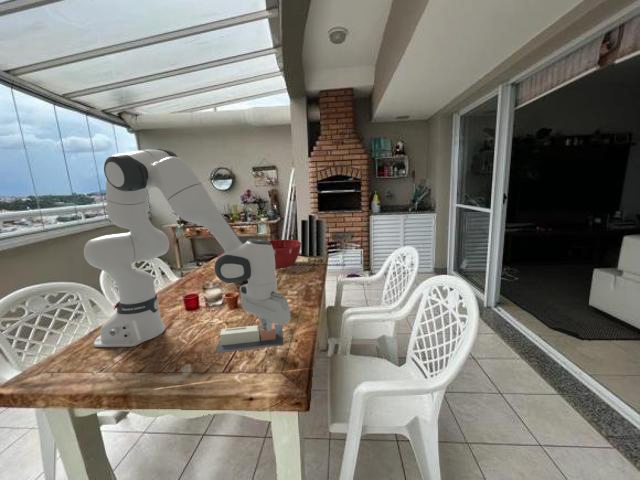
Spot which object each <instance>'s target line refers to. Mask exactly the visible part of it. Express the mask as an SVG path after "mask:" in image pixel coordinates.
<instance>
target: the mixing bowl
mask: <svg viewBox="0 0 640 480" xmlns="http://www.w3.org/2000/svg"><path fill="white" fill-rule="evenodd" d="M268 241H269V242H270V243H271V245H272V247H273V250H274V256H275V270H276V269H277V270H281V269H280V268H283V269H287V267H288V268H290V267H291V266H293V265H294V264H295V263H296V261H297V259H298V256H299V254H300V251H301V250H300V249H301V245H302V242H301V241H300V240H294V239H275V240H268Z"/></svg>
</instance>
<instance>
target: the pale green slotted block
mask: <svg viewBox="0 0 640 480" xmlns="http://www.w3.org/2000/svg"><path fill="white" fill-rule="evenodd" d="M260 327H261V325H260V324H257V325H248V326H247V325H246V326H240V327H230V328H221V331H220V334H219V338H220V339H219V341H220V340H221V341H220V342H221V344H220V345H228V346H229V345H230V344H235V345H236V344H238V345H239V343H247V342H252V343H253V342H256V341H259V342H260V337H261V336H260Z"/></svg>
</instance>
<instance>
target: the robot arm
mask: <svg viewBox="0 0 640 480" xmlns="http://www.w3.org/2000/svg"><path fill="white" fill-rule="evenodd" d="M103 173H104V175H105V178H106V183H105V196H106V197H105V198H106V199H105V200H106V208H107V209H106V210H107V218H108V220H109V221H110V222H111V223H112V224H113V225H115V226H117V227H119V228H123V229H126V230H129V231H127V232H122V233H113V234H106V235H102V236H98V237H95V238H92V239H89V240H88V241H87V242H86V243H85V245H84V248H83V257H84V259H85V261H86V262H87V263H88V265H90V266H92V267H93V268H97V269H99V270H101V271H103V272H104V273H107V274H108V275H109V276H110V277H111V278H112V280H113V281H114V283H115V285H116V288H117V291H118V296H119V301H118V302H117V303H115V305H114V306H113V310H116V311H115V313H113V314H112V315H111V316H110V317H109V318H108V319H106V321H105V322H104V323H103V324H102V325H101V327H100V335H98V336H97V338H95V340H94V342H93V346H94V347H95V348H109V347H110V348H115V347H117V348H119V347H120V348H123V347H124V348H125V347H132V348H133V347H136V346H137V345H140V344H142V343H144V342H146V341H147V342H148V341H149V340H152V339H153V338H156V337H158V336H160V335H161V334H162V333H164V332H165V330H166V326H165V323H164V322H163V319H162V317H161V313H160V310H159V308H160V307H159V305H160V304H159V300H158V295H157V293H156V289H155V284H154V277H153V276H152V275H151V273H149V272H147V271H145V270H139V269H135V268H133V267H132V264H134V263H138V262H144V261H148V260H153V259H157V258H158V257H162V256H164V255H166V254H167V253H168V251H169V249H170V239H169V237H168V235H167V234H166V233H165V232H163V231H162V230H160V229H158V228H156V227H155V226H154V225H153V224H152V223H151V221H150V219H149V213H148V199H147V196H148V195H147V189H152V188H157V189H159V190H160V192H161V193H162V194H163V197H164V199H165V200H166V201H167V203H168V205H169V206H170V208H171V209H172V210H173V212H175V213H176V214H177V216H179V218H180V219H182V220H183V221H185V222H187V223H192V224H196V225H199V226H202V227H204V229H207V230H208V231H209V232H210V233H211V234H212V236H213V237H214V238H215V240H216V241H217V242H218V244H220V247H221V248H222V249H223V251H224V253H223V254H222V255H220V256H219V257H218V258H217V259H216V261H215V263H214V269H213V270H214V272H215V275H216V277H217V278H218V279H219V280H220V281H221V282H223V283H225V284H235V283H241V282H245V281H247V283H246V284H243V285H241V286H239V292H240V301H241V307H242V310H243V311H244V312H246V313H249V314H251V315H253V316H256V317H258V321H259V322H260V325H262V329H264V330H266V331H270V330H272V324H273V323H275V325H282V326H284V325H286V324H288V323H289V322H290V321H291V319H292V317H291V315H292V314H291V311H290V306H289V301H288V300H287V298H286V296H285V295H284V294H281V293H278V291H279V290H278V279H277V276H276V271H275V270H276V268H275V256H274V250H273V247H272V245H271V243H270V242H269V241H270V240H266V239H264V238H249V239H247V241H246V242H244V241H243V240H242V239H241V238H240V237H239V236H238V234H237V233H236V232H235V230H234V229H233V228H232V226H231V224H229V221H228V220H227V219H226V218H225V217H224V215H223V214H222V212H221V211H220V209H219V208H218V207H217V205H216V204H215V202H214V201H213V199H212V197H211V195H210V194H209V192H208V191H207V189H206V187H205V186H204V184H203V183H202V181H201V180H200V178H199V177H198V175H197V173H195V172H194V170H193V169H192V168H191V167H190V166H189V164H187V163H186V161H184V160H183V158H180V157H179V156H178V155H177V154H176V153H175V152H174V151H171V150H169V149H162V148H158V149H140V150H136V151H135V150H134V151H129V152H126V153H124V152H123V153H122V152H120V153H117V154H116V153H115V154H113V155H111V156H108V157H107V158H106V159H105V162H104V164H103Z"/></svg>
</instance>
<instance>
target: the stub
mask: <svg viewBox="0 0 640 480" xmlns="http://www.w3.org/2000/svg"><path fill="white" fill-rule="evenodd" d="M275 325H276V323H274V322H273V323H272V330H270V331H266V330H264V329H262V324H260V327H261V328H260V333H261V336H260V337H261V341H263V342H264V340H265V341H268V340H272V339H273V340H277V339H276V337H277V336H276V333H277V332H276V333H275V327H276V326H275ZM273 340H272V341H273Z"/></svg>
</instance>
